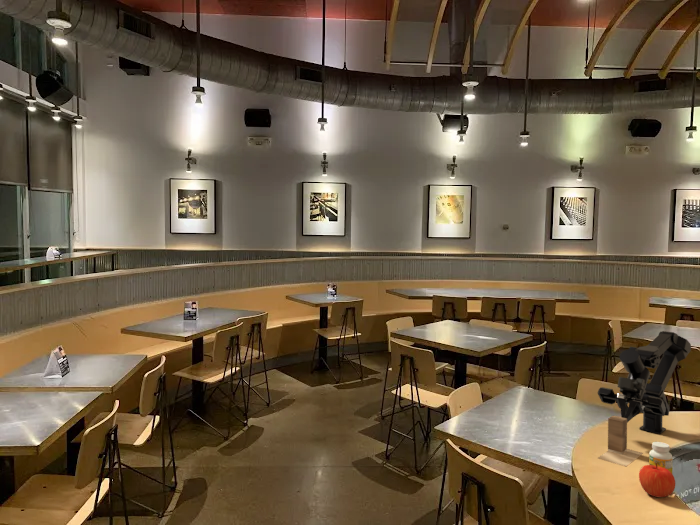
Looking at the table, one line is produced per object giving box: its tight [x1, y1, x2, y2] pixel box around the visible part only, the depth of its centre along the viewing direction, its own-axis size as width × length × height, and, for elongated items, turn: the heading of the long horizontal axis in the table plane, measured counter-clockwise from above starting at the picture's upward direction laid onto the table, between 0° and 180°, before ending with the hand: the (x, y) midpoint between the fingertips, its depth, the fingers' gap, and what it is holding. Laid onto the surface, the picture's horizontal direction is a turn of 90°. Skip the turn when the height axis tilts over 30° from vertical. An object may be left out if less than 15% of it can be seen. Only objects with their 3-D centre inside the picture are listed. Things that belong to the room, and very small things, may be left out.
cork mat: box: [597, 448, 644, 467], centre depth 154 cm, size 14×8×1 cm, turn 133°
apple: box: [638, 463, 676, 498], centre depth 130 cm, size 8×8×8 cm
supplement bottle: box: [648, 441, 674, 474], centre depth 139 cm, size 5×5×10 cm
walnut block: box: [607, 415, 628, 455], centre depth 157 cm, size 4×4×10 cm
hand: (623, 423), depth 160 cm, fingers closed
